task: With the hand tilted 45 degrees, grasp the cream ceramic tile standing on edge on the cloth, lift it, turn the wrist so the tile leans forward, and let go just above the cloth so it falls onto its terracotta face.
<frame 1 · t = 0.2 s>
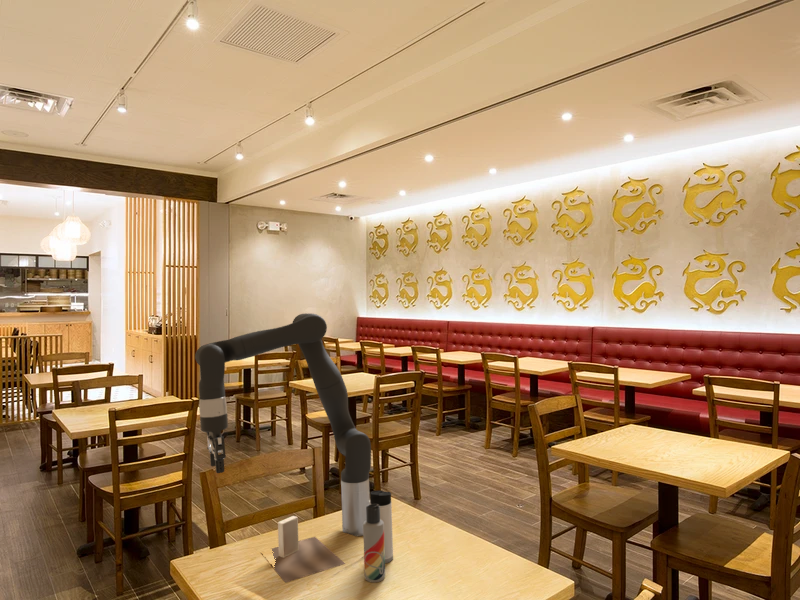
hand: (217, 469, 156), 29 cm above the table, tool pointing down, fingers open, 8 cm apart
lotion bottle: (375, 578, 148), on the table
travel mug: (382, 559, 158), on the table
tile: (288, 552, 162), point 1 cm above the table, touching cloth
cloth: (301, 560, 159), on the table
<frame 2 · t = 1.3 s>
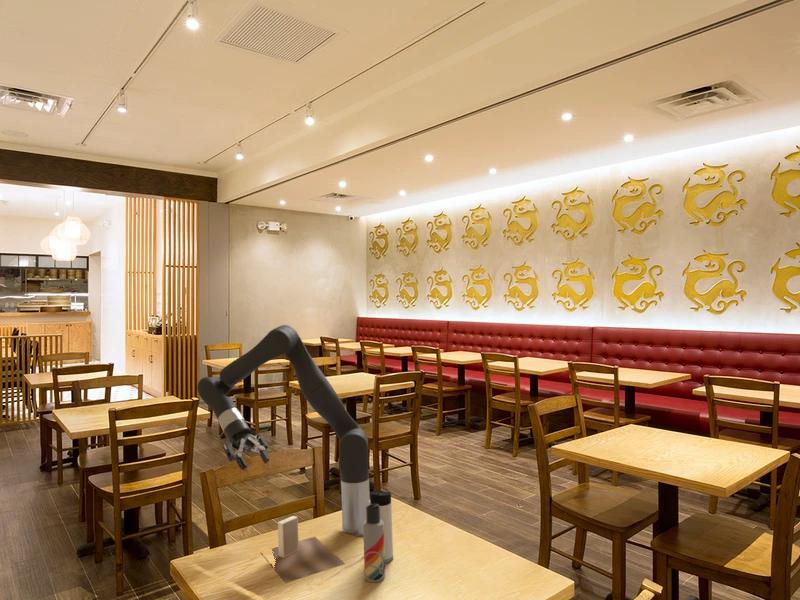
hand: (256, 465, 172), 25 cm above the table, tool tilted 45°, fingers open, 8 cm apart
nothing on the table moved.
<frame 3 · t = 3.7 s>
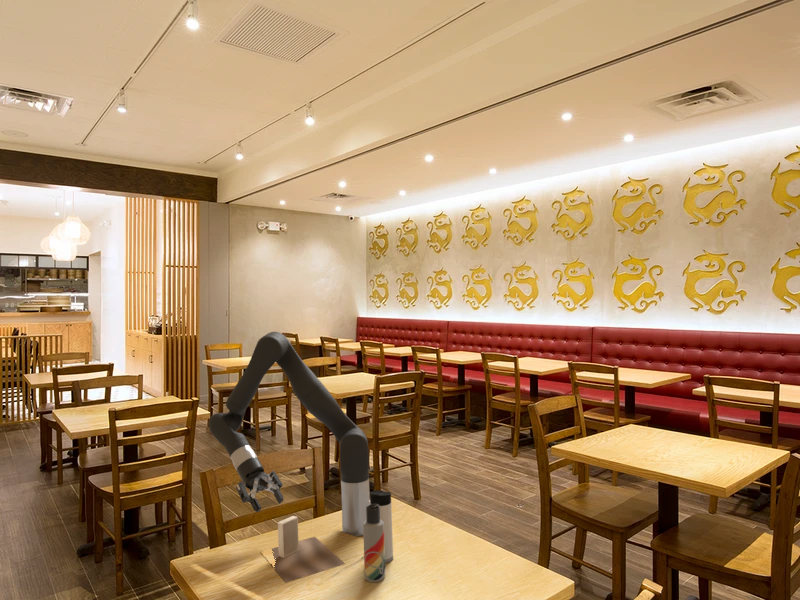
hand: (270, 506, 167), 13 cm above the table, tool tilted 45°, fingers open, 8 cm apart
nothing on the table moved.
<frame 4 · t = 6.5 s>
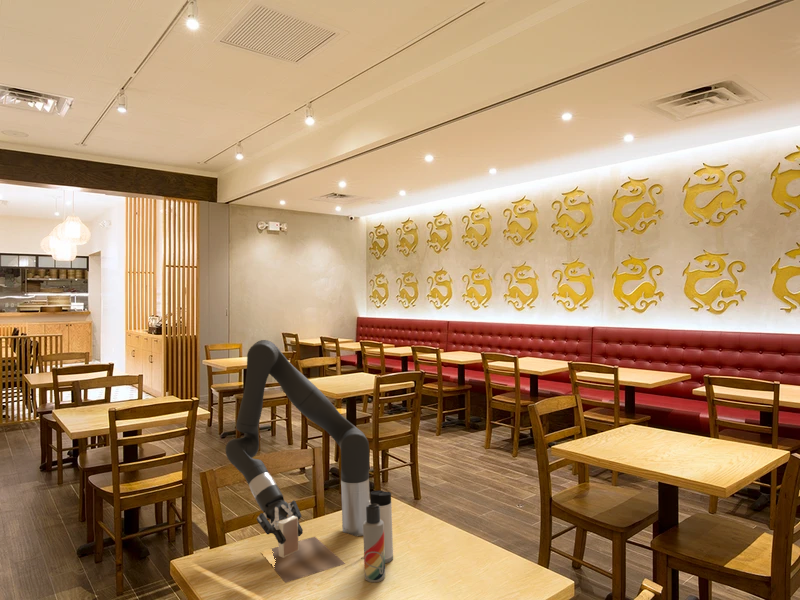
hand: (292, 538, 161), 6 cm above the table, tool tilted 45°, fingers closed on tile, 6 cm apart
tile: (288, 552, 162), point 1 cm above the table, touching cloth, gripper
everything else where it was.
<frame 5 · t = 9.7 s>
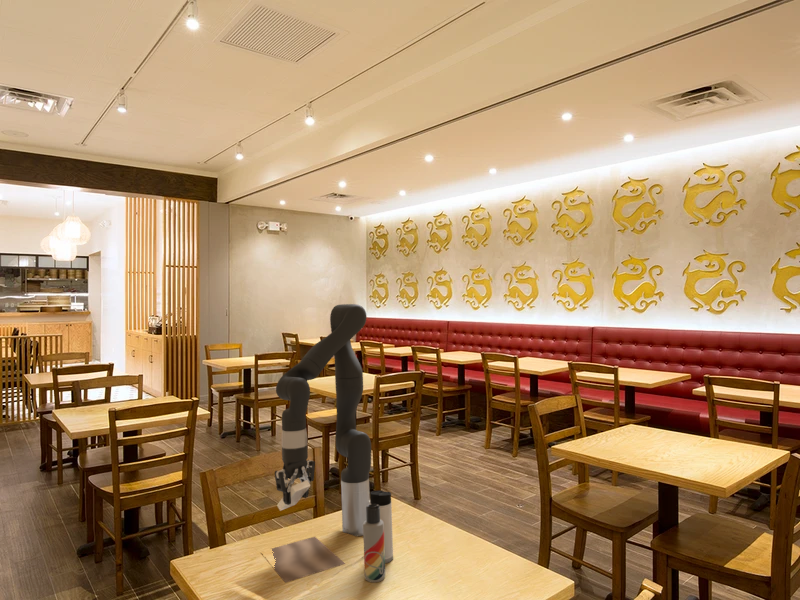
hand: (296, 500, 160), 17 cm above the table, tool pointing down, fingers closed on tile, 6 cm apart
tile: (286, 504, 163), point 15 cm above the table, tilted 45°, touching gripper
everything else where it was.
when the fingers open (5 cm above the table, at t = 13.0 s): tile drops 1 cm and tips over, resting on cloth.
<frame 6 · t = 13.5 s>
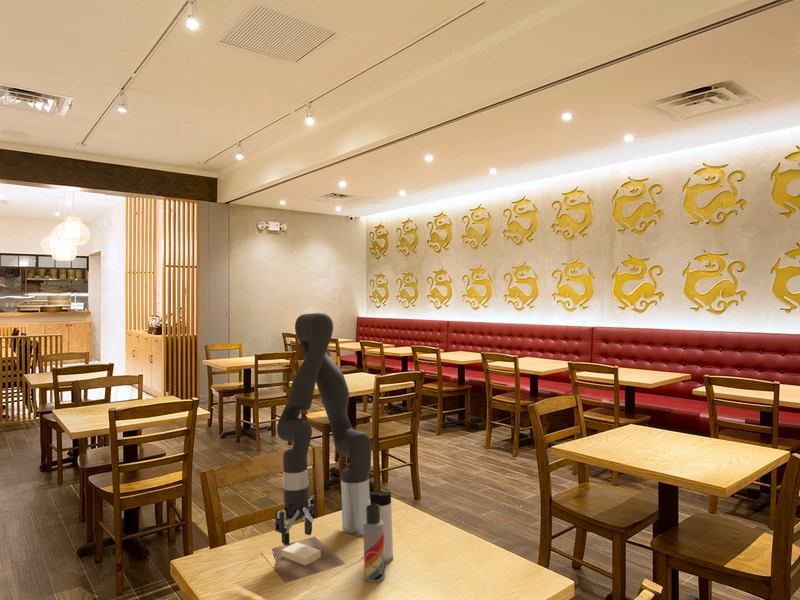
hand: (297, 539, 160), 6 cm above the table, tool pointing down, fingers open, 8 cm apart
tile: (289, 549, 162), point 2 cm above the table, tilted 90°, touching cloth
everything else where it was.
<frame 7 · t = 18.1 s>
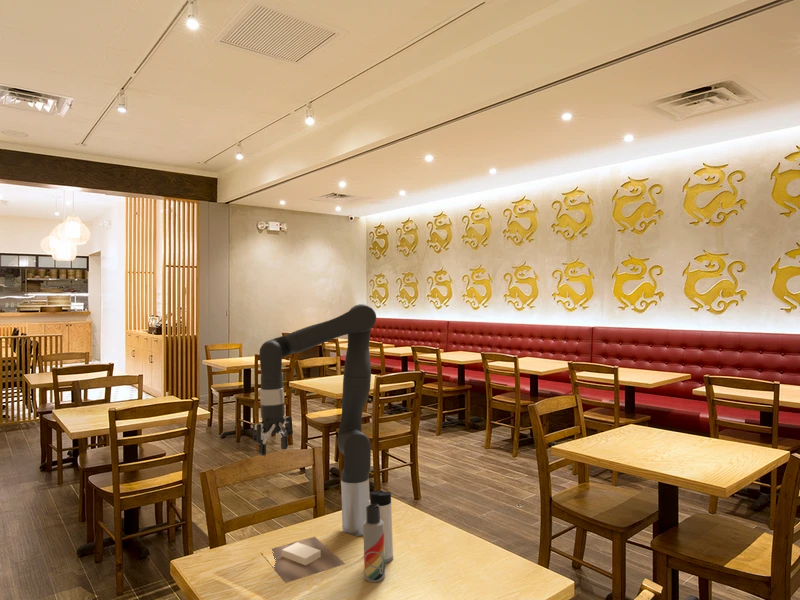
hand: (273, 452, 174), 28 cm above the table, tool pointing down, fingers open, 8 cm apart
nothing on the table moved.
at the end: tile tilted 90°; tile inside the target area on the cloth (4.9 cm from its centre), point 2.0 cm above the cloth's base; tile touching cloth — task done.
